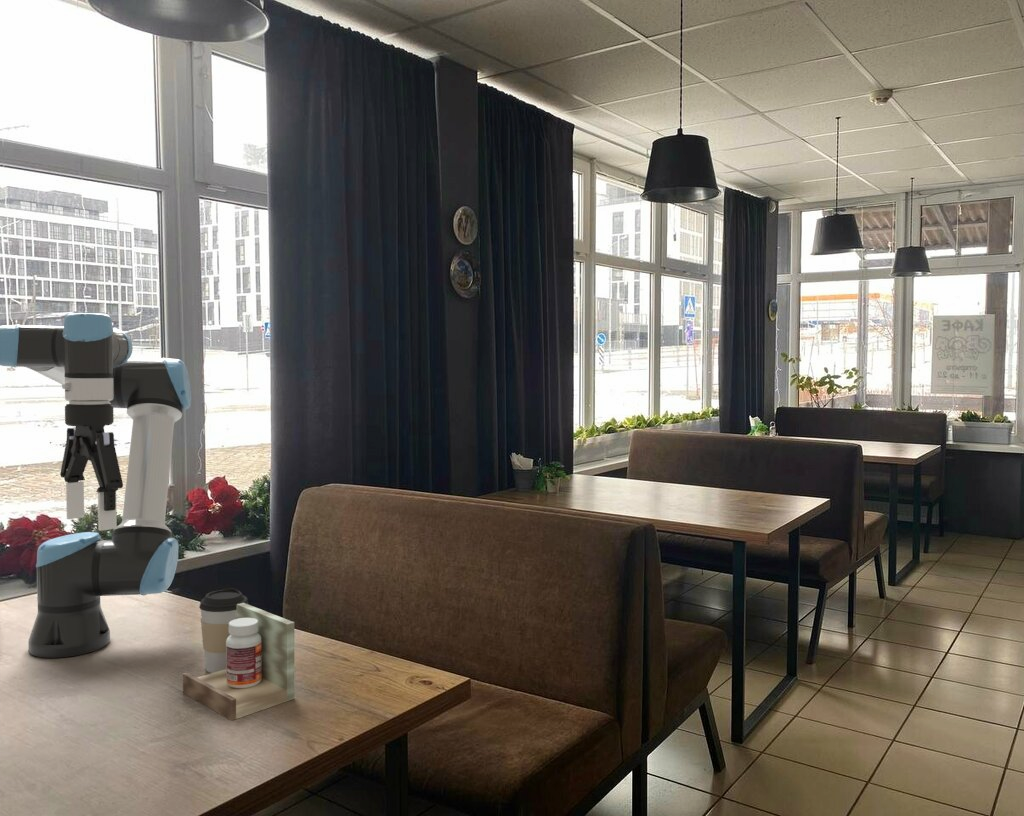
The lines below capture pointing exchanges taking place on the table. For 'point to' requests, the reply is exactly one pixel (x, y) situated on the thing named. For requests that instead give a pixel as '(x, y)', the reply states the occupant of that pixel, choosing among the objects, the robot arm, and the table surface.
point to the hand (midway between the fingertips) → (91, 523)
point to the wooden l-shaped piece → (274, 671)
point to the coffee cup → (218, 624)
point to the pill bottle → (243, 654)
